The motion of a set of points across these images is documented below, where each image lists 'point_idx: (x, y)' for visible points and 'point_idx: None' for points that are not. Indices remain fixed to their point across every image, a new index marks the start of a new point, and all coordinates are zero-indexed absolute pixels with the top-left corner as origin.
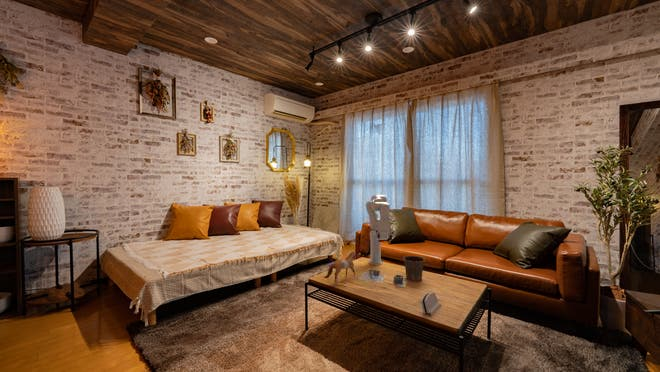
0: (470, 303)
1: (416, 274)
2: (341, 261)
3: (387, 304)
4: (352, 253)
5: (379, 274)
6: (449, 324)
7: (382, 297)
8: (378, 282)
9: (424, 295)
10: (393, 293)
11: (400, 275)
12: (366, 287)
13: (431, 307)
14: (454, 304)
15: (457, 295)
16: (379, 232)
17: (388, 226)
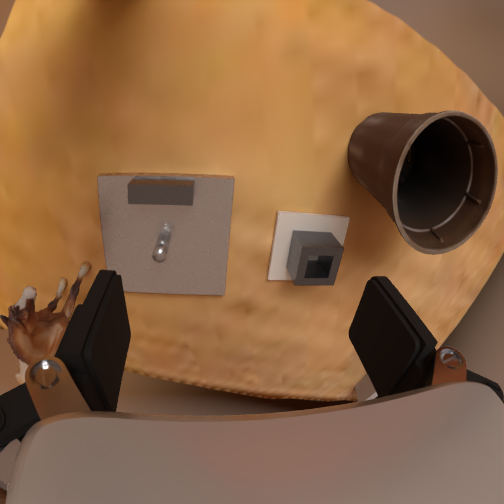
0: (471, 300)
1: (408, 205)
2: None
3: (270, 392)
4: (21, 351)
5: (194, 186)
6: None
7: (251, 369)
8: (214, 292)
9: (375, 395)
10: (285, 336)
11: (329, 252)
12: (174, 328)
13: None
14: (438, 322)
15: (469, 268)
16: (83, 402)
17: None
